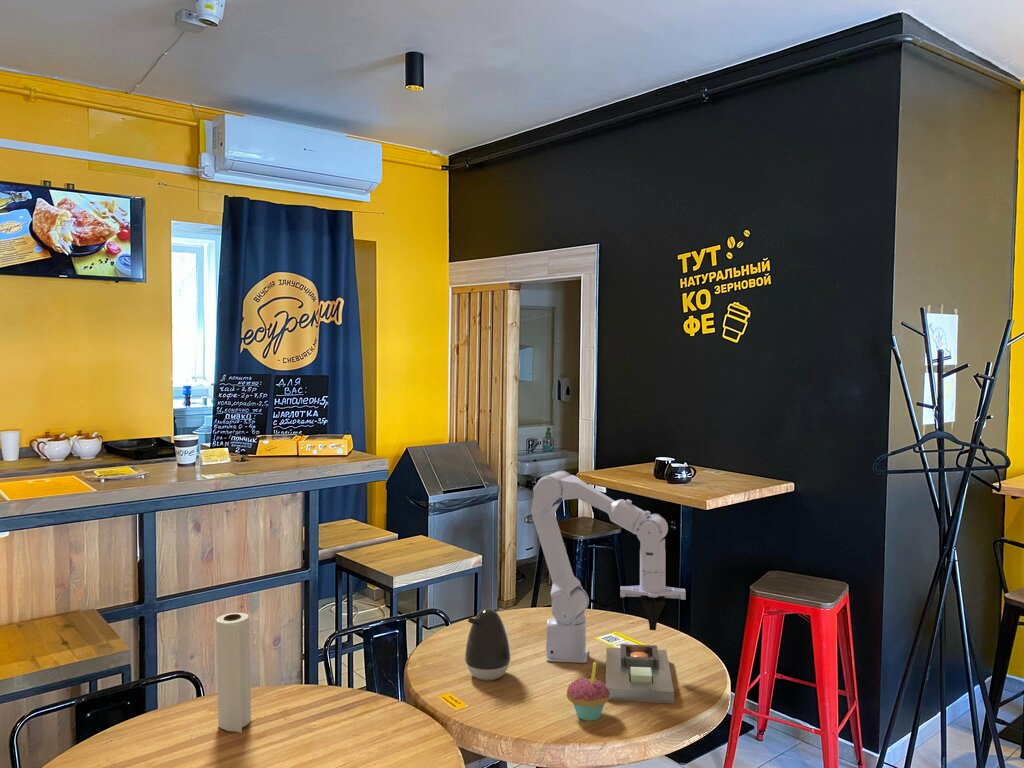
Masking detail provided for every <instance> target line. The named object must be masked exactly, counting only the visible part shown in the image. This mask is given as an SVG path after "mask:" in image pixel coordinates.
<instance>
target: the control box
mask: <svg viewBox="0 0 1024 768" xmlns="http://www.w3.org/2000/svg"><path fill="white" fill-rule="evenodd" d="M605 650H606V651H605V653H606V655H605V657H606V658H605V659H606V660H605V663H606V664H605V685H606V686H607V688H608V690H609V692H610V696H609V698H608V701H612V702H613V701H615V702H635V703H637V702H638V703H650V704H651V703H653V704H669V705H671V704H675V690H674V689H675V688H674V685H673V678H672V674H671V669H670V662H669V658H668V653H667V649H658V645H650V644H629V643H628V644H627V643H620V647H606V649H605ZM633 652H644V653H646V654H648V657H630V654H631V653H633ZM630 667H648V668H651V673H652V683H633V682H630Z"/></svg>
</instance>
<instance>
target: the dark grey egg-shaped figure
mask: <svg viewBox="0 0 1024 768" xmlns="http://www.w3.org/2000/svg"><path fill="white" fill-rule="evenodd" d="M467 621H468V623H469V624H471V626H470V629H469V632H468V636H467V641H466V647H465V654H464V655H465V656H464V657H465V658H464V659H465V661H464V662H465V663H466V665H467V668H468V670H469V672H470V674H471V675H472V676H473V677H475V678H476V679H478V680H481V681H494V680H498V679H500V678H501V677H503V675H505V673H507V670H508V668H509V664H510V662H511V658H512V657H511V650H510V643H509V638H508V633H507V631H506V627H505V625H504V622H503V621H502V619H501V616H500V615H499V613H497V611H495V610H494V609H491V608H484V609H481V610H480V611H479V612H477V614H476V616H475V617H468V619H467Z"/></svg>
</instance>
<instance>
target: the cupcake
mask: <svg viewBox="0 0 1024 768" xmlns="http://www.w3.org/2000/svg"><path fill="white" fill-rule="evenodd" d="M596 670H597V659H595V660H594V662H593V663H592V671H591V678H588V677H581V678H580V677H579V678H578V679H575V680H574V681H571V682H570V684H569V685H568V687H567V690H566V693H565V695H566V698H567V699H568V701H570V702H571V703H572V705H573V708H574V710H575V713H576V716H577V717H578V718H579V719H580V720H583V721H589V722H591V721H596V720H598V719H600V717H601V716H602V712H603V709H604V706H605V704H606V703H608V701H609V700H608V698H609V696H610V692H609V690H608V688H607V686H606V683H604V682H603V681H600V680H599V679H597V678H596Z"/></svg>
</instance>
